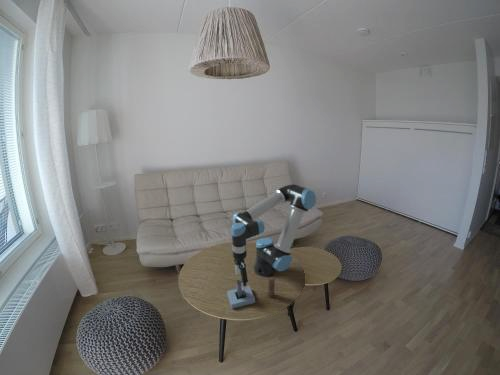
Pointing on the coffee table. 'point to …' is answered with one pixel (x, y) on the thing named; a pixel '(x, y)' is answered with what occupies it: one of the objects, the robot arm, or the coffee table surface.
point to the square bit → (240, 290)
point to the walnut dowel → (271, 287)
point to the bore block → (240, 302)
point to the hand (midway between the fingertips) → (241, 281)
